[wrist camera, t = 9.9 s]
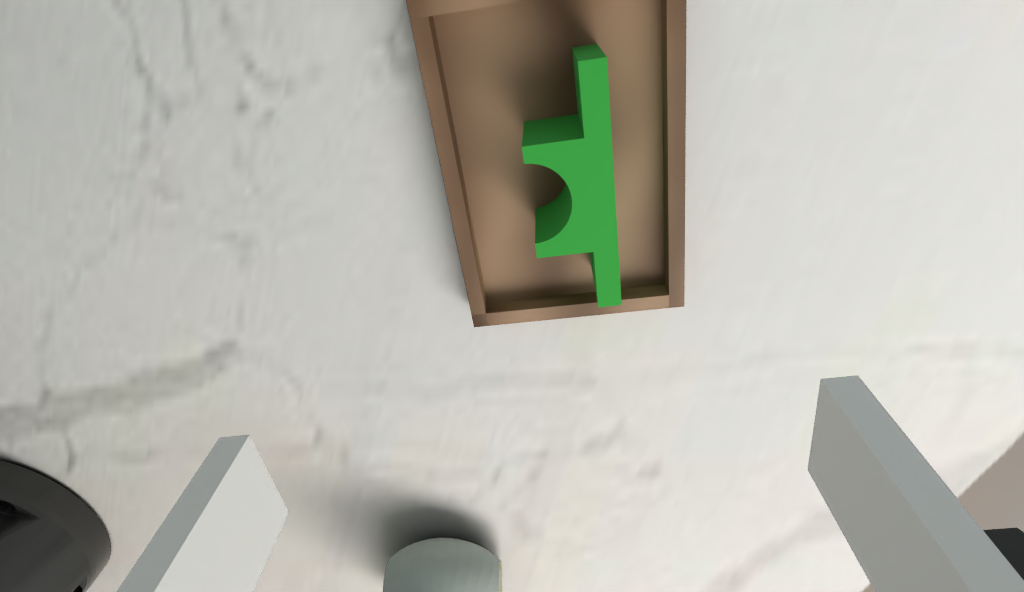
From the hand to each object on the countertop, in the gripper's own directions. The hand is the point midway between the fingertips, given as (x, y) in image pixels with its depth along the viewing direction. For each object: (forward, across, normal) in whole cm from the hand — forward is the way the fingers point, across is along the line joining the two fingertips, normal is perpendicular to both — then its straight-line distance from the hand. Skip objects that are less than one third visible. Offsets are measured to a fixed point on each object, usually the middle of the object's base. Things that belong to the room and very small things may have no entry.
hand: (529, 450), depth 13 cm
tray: (+19, +2, +1) cm, 19 cm away
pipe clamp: (+18, +2, +1) cm, 19 cm away
